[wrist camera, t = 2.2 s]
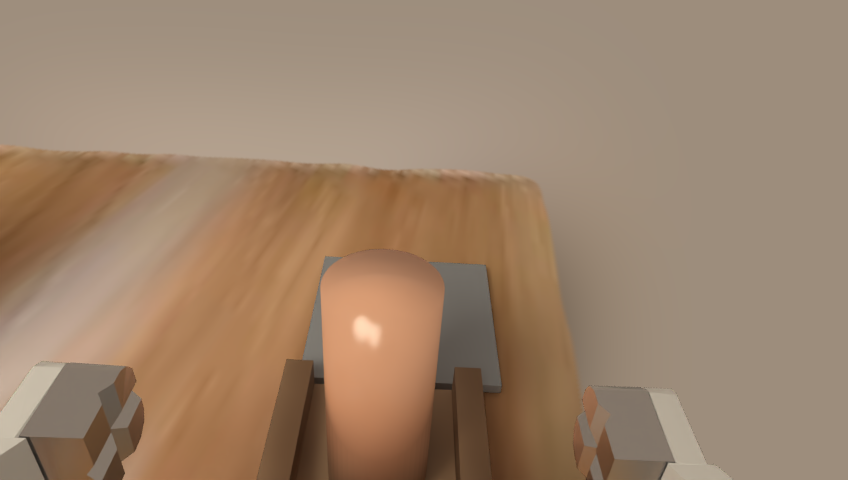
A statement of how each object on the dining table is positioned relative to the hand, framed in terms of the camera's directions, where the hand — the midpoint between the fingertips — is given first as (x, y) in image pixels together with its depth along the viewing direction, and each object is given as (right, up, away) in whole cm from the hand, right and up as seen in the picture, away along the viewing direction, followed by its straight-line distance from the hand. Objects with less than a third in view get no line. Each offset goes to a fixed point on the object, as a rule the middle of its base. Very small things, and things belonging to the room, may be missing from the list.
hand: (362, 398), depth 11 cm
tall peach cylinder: (-1, -8, +22) cm, 23 cm away
